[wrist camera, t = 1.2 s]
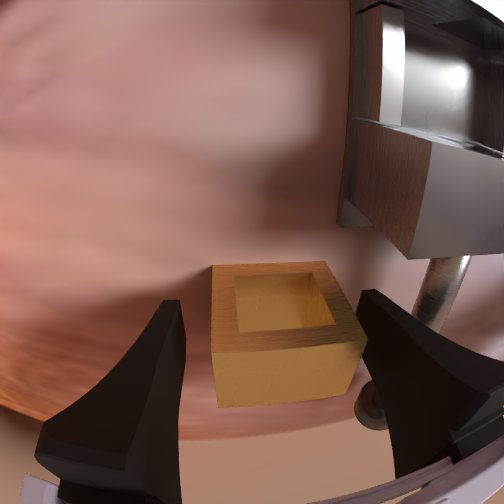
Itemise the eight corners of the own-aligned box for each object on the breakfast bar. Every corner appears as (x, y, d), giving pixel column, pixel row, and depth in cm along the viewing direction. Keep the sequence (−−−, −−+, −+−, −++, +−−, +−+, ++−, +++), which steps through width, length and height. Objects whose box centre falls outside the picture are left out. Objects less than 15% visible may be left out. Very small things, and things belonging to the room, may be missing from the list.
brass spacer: (212, 264, 12) (211, 353, 8) (324, 260, 12) (368, 339, 8) (216, 321, 13) (218, 407, 9) (315, 315, 14) (345, 394, 10)
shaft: (421, 140, 9) (479, 162, 6) (473, 152, 9) (527, 176, 6) (347, 394, 16) (362, 435, 13) (390, 385, 16) (407, 422, 13)
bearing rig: (345, -63, 5) (404, -114, 1) (490, 4, 6) (558, 3, 2) (336, 222, 11) (391, 293, 7) (472, 224, 12) (531, 272, 8)
